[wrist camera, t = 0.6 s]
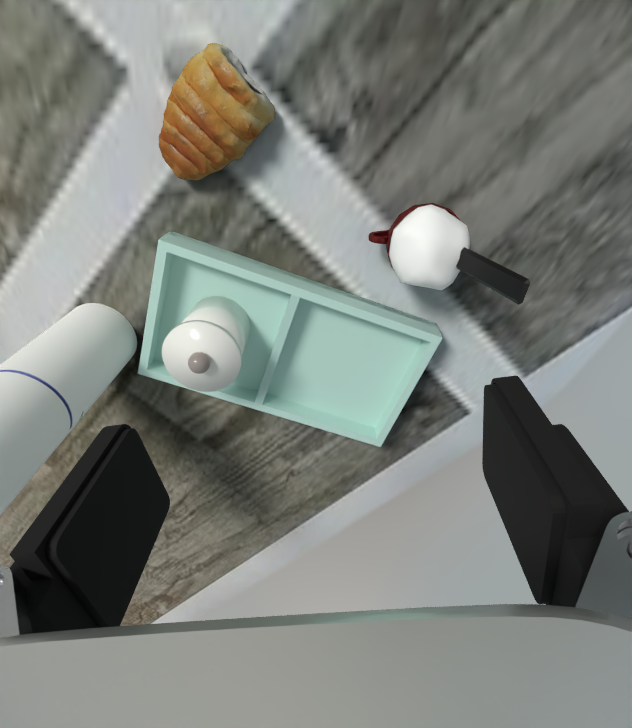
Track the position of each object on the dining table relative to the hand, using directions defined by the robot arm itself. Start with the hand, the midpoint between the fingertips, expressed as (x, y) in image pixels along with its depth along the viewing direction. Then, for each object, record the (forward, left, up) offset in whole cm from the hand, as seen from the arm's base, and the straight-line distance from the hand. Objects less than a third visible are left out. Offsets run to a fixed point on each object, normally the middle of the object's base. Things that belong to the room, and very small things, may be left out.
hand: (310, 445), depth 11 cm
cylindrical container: (+19, -18, -30) cm, 39 cm away
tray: (+13, 0, -29) cm, 32 cm away
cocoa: (-1, +8, -30) cm, 31 cm away
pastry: (-4, -11, -30) cm, 32 cm away
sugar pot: (+13, -6, -28) cm, 32 cm away
